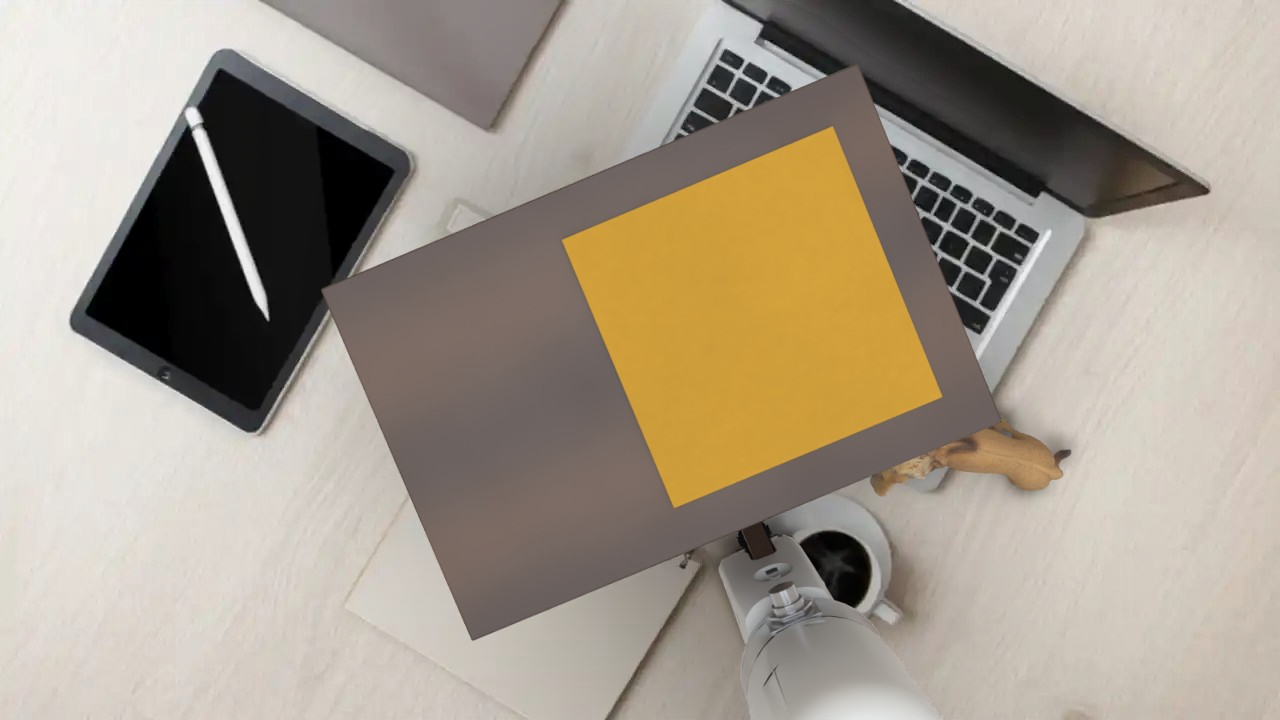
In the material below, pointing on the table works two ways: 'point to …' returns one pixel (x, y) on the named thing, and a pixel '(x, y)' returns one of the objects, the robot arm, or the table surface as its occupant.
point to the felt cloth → (752, 317)
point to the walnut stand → (607, 375)
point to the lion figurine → (984, 460)
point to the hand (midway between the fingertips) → (774, 587)
